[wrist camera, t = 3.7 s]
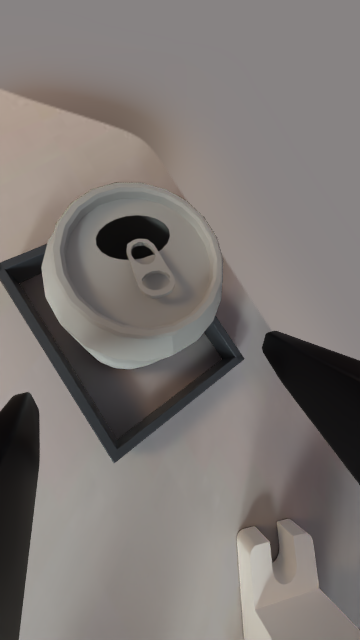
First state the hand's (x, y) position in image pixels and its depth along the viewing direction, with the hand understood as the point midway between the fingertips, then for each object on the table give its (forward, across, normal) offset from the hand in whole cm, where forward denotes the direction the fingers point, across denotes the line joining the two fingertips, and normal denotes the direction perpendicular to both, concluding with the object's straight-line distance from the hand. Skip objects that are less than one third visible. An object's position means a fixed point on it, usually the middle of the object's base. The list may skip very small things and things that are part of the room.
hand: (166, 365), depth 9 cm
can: (+11, 0, +5) cm, 12 cm away
